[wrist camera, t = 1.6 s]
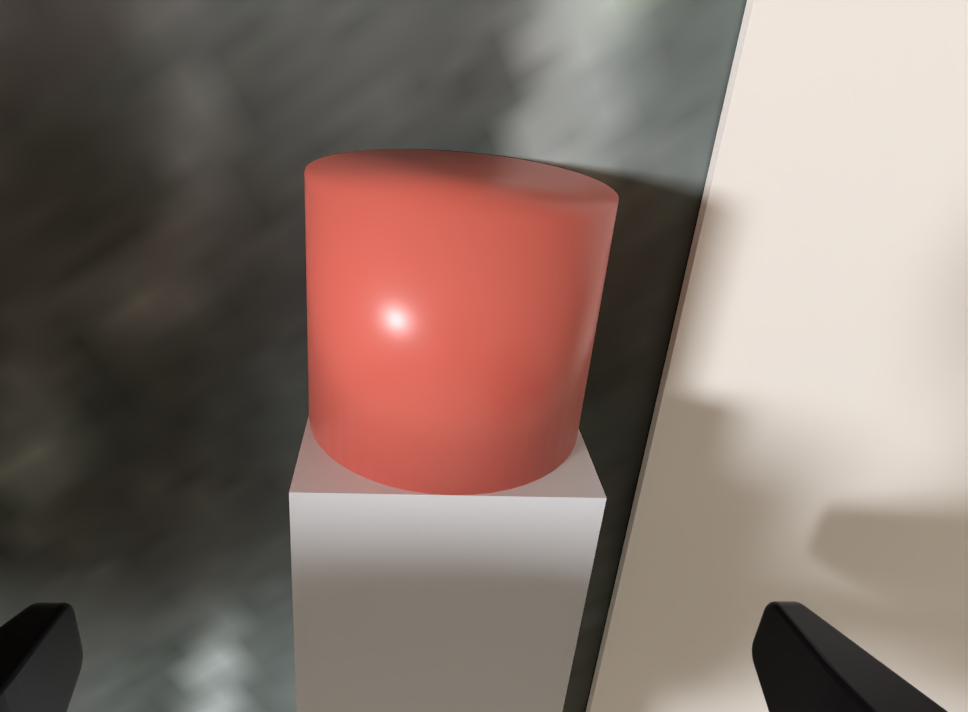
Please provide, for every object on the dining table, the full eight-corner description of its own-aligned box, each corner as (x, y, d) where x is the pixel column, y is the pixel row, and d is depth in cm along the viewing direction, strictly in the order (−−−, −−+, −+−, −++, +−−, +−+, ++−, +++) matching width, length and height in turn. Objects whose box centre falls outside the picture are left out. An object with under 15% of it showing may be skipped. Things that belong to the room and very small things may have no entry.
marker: (498, 713, 14) (522, 904, 11) (327, 717, 14) (303, 916, 11) (581, 160, 9) (661, 232, 6) (323, 140, 9) (278, 205, 6)
